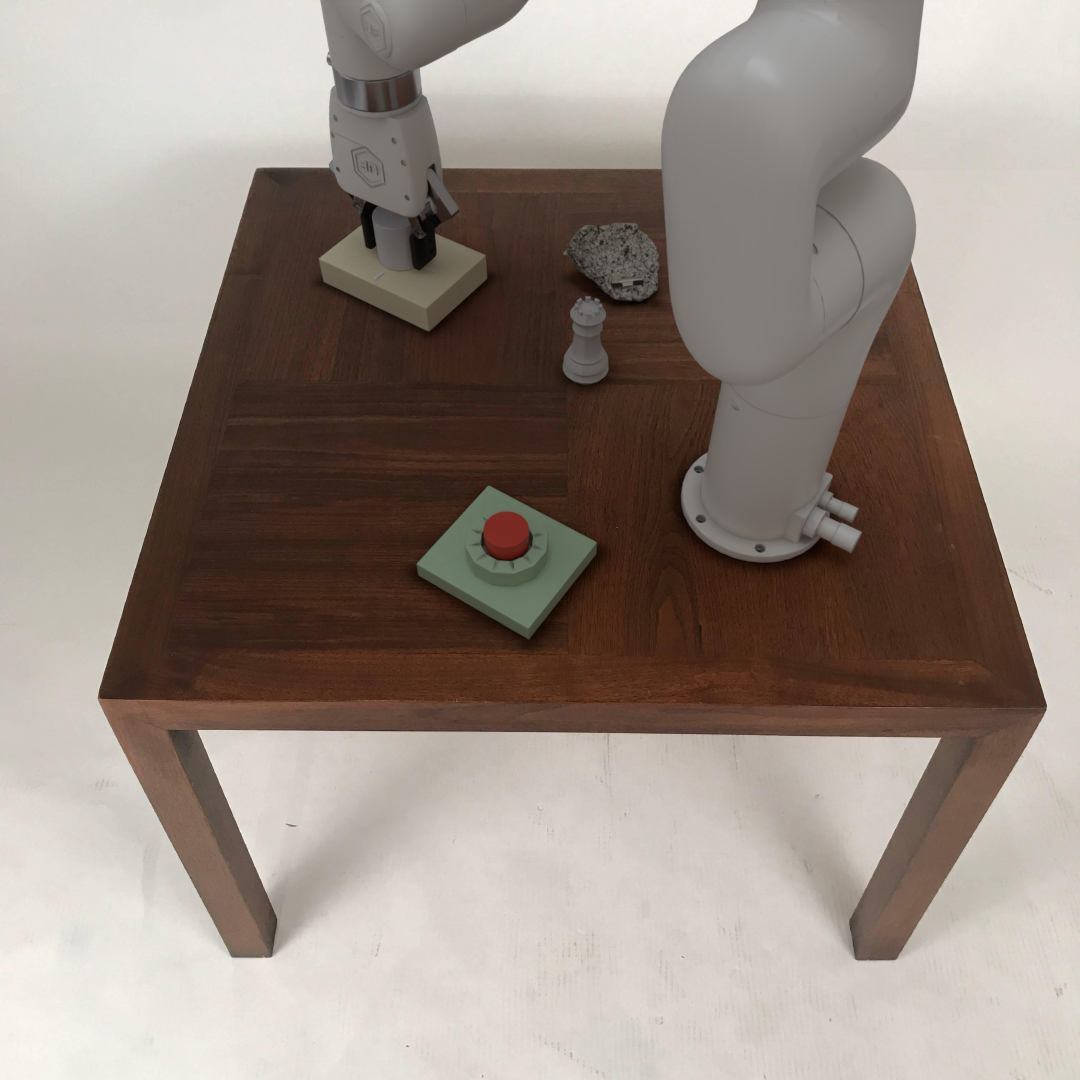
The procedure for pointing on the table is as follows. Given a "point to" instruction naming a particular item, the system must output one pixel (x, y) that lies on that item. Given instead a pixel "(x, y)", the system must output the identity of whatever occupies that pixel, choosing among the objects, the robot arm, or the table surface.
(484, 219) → the table surface
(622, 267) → the rock sample
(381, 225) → the knob
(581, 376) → the rook chess piece
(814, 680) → the table surface
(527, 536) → the button
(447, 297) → the panel
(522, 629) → the button block
